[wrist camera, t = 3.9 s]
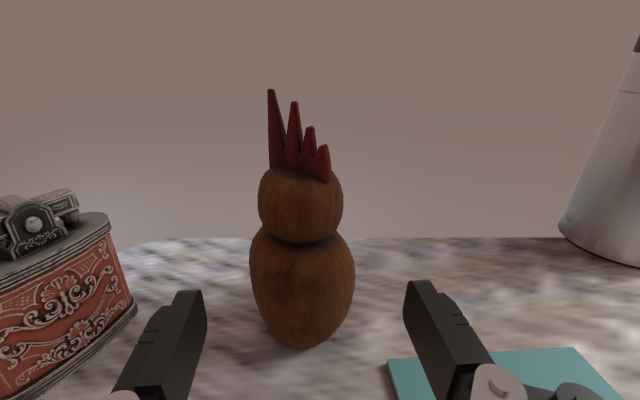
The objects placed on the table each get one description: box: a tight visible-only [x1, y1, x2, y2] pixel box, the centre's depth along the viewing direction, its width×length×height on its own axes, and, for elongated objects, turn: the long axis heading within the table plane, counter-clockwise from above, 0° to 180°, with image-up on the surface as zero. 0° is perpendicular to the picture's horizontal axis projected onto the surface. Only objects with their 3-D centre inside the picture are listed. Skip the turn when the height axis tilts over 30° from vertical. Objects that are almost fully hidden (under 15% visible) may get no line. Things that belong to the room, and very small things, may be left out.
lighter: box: [0, 188, 138, 400], centre depth 16 cm, size 8×3×10 cm, turn 158°
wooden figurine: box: [249, 89, 355, 348], centre depth 17 cm, size 7×6×15 cm
